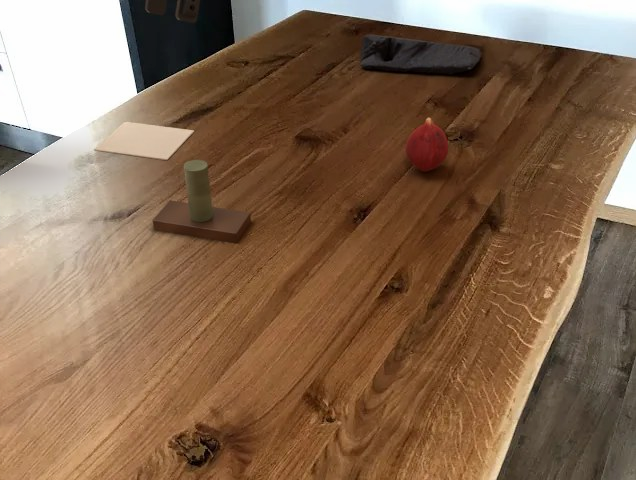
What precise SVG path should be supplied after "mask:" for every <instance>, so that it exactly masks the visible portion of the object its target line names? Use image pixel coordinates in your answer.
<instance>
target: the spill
mask: <svg viewBox="0 0 636 480" xmlns="http://www.w3.org/2000/svg"><path fill="white" fill-rule="evenodd" d="M194 133H195V130H193V129H185V128H179V127H170V126H164V125H163V126H162V125H155V124H147V123H141V122H139V123H138V122H133V121H132V122H131V121H124V122H123V123H122V124H121V125H120V126H118V127H117V128H116V129H115V130H113V132H111V134H109V135H108V136H107V137H106V138H105V139H104V140H103V141H102V142H100V143H99V144H98V145H97V146H96V147H94V148H93V150H94V151H96V152H103V153H111V154H117V155H126V156H130V157H132V156H133V157H138V158H146V159H154V160H160V161H169V160H170V158H171V157H172V156H173V155H174V154H175V153H176V152H177V151H178V150H179V149H180V148H181V147H182V146H183V145H184V143H185V142H186V141H187V140H188V139H189V138H190V137H191V136H192V135H193V134H194Z"/></svg>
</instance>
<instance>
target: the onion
mask: <svg viewBox="0 0 636 480" xmlns="http://www.w3.org/2000/svg"><path fill="white" fill-rule="evenodd" d="M405 152H406V156H407V158H408V160H409V161H410V163H411V164H412V165H413V166H414V167H415V169H417V170H419V171H421V172H423V173H427V172H429V171H431V170H434V169H437V168H438V167H440V165H441V164H443V162H444V161H445V160H446V159H447V156H448V153H449V143H448V138H447V136H446V134H445V132H444V131H443V130H442V129H441V128H440V127H439V126H438V125H436V124H435V123H434V121H433V119H432V118H431V117H426V119H425V122H424V124H421V125H420V126H418V127H417V128H416V129H415V130H413V131H412V132H411V133H410V134H409V137H408V138H407V141H406V146H405Z"/></svg>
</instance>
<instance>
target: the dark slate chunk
mask: <svg viewBox="0 0 636 480" xmlns="http://www.w3.org/2000/svg"><path fill="white" fill-rule="evenodd" d="M481 58H482V53H481V51H480V50H479V49H478V48H477V47H474V46H466V45H460V44H459V45H457V44H447V43H441V42H435V41H428V40H420V39H412V38H411V39H410V38H406V37H405V38H404V37H396V36H388V35H387V36H386V35H379V34H378V35H377V34H366V35H365V36H363V37H362V42H361V51H360V64H359V66H360V67H362V68H364V69H366V70H372V69H374V70H383V71H388V72H389V71H390V72H401V73H407V72H414V73H421V74H423V73H426V74H431V73H432V74H442V75H445V74H448V75H453V74H456V73H464V72H469V71H471V70H472V69H474V67H476V65H477V64H478V62H480V59H481ZM386 60H389V61H386Z"/></svg>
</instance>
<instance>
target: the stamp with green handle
mask: <svg viewBox="0 0 636 480" xmlns="http://www.w3.org/2000/svg"><path fill="white" fill-rule="evenodd" d="M183 172H184V180H185V188H186V195H187V202H183V201H179V200H170V199H169V200H168V201H167V202H166V203H165V205H164V206H163V207H161V209H160V210H159V212H158V213H157V214H156V215H155V216H154V218H152V226H153V231H158V232H164V233H170V234H176V235H183V236H188V237H194V238H200V239H206V240H213V241H219V242H225V243H231V244H238V243H239V241H240V240H241V238H242V237H243V235H244V234H245V232H246V231H247V229H248V228H249V227H250V225H251V224H252V215H251V212H250V211H243V210H237V209H229V208H224V207H216V206H213V203H212V191H211V183H210V175H209V165H208V163H207V161H205V160H204V159H203V160H202V159H192V160H189V161H186V162H185V163H183Z"/></svg>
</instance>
